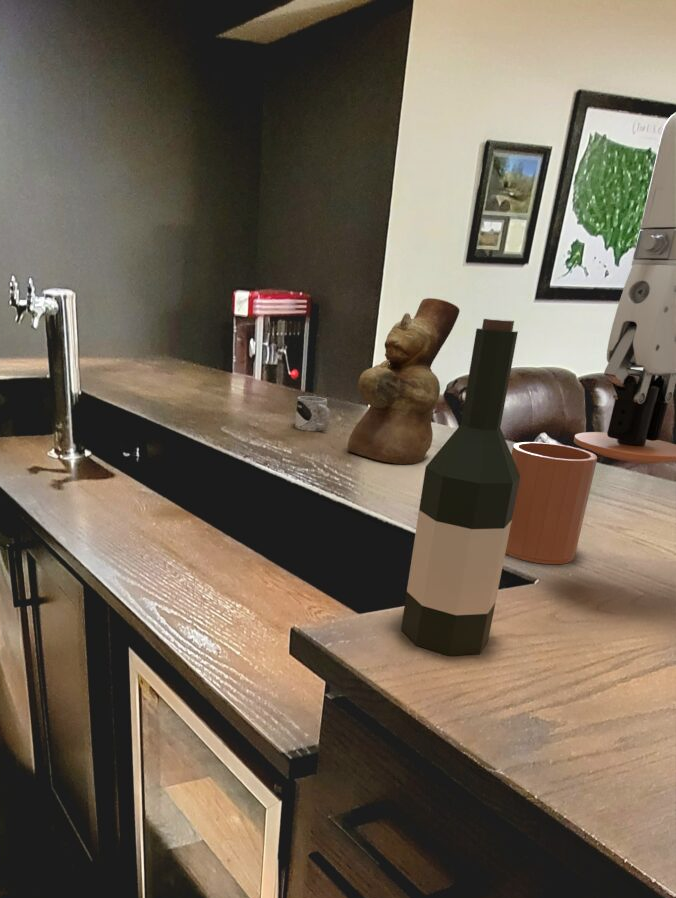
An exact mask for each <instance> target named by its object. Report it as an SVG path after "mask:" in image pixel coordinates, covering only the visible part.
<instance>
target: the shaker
mask: <svg viewBox="0 0 676 898" xmlns="http://www.w3.org/2000/svg"><path fill="white" fill-rule="evenodd" d="M511 449H512V450H511V455H512V457H513V460H514V462H515V464H516V467H517V469H518V471H519V474H520V481H519V486H518V491H517V496H516V501H515V506H514V511H513V516H512V521H511V526H510V532H509V537H508V542H507V547H506V552H505V555H507V556H510V557H512V558H515V559H518V560H522V561H525V562H531V563H536V564H542V565H564V564H569V563H571V562H572V561H573V560H574V559H575V556H576V553H577V548H578V545H579V540H580V536H581V532H582V527H583V522H584V519H585V513H586V509H587V506H588V501H589V497H590V491H591V488H592V483H593V479H594V474H595V470H596V466H597V461H598V457H597V454H596V453H594V452H592V451H590V450H589V451H588V450H587V449H582V448H580V447H574V446H570V445H565V444H564V445H563V444H557V443H551V442H541V441H539V442H538V441H524V442H517V443H514V444H513V445H512V448H511Z"/></svg>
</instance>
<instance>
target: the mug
mask: <svg viewBox="0 0 676 898" xmlns="http://www.w3.org/2000/svg"><path fill="white" fill-rule="evenodd" d="M295 411H296V413H295V423H294V427H295V429H297V430H301V431H308V432H321V431H324V430H327V429H328V428H329V425H330V421H331V410H330V408H329V407H328V399H327V398H326V397H320V396H315V395H314V396H313V395H301V396H298V397H297V400H296V410H295Z"/></svg>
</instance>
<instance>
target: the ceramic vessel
mask: <svg viewBox="0 0 676 898" xmlns="http://www.w3.org/2000/svg"><path fill="white" fill-rule="evenodd" d="M460 311H461V309H460V308H459V307H458V305H456V304H454V303H452V302H449V301H447V300H444V299H440V298H435V297H434V298H431V297H427V298H423V299H422V300H421V302H420V304H419V306H418V308H417V311H416V313H415V315H414V317H413V318H411V314H410V312H405V313H404V314H403V316H402V318H401V320H400V321H398V322H396V323H395V324H394V325H393V326H392V328H391V329H390V330H389V332H388V333H387V336H386V339H385V342H384V349H385V354H384V356H385V358H386V359H385V360H383V361H382V362H381V363H380V364H377V365H375V366H373V367H370V368H368V369H365V370H364V371H363V372H362V373H361V374H360V376H359V378H358V384H357V392H358V395H359V396H360V398H361V399H362V401H363V402H364V403H365V404H366V405H369V408H368V409H366V412H365V413H364V414H363V415H362V417H361V419H359V421H358V422H357V423H356V424H355V426H354V427H353V429H352V432H351V433H350V435H349V438H348V441H347V450H348V451H349V452H350V453H354V454H356V455H359V456H362V457H366V458H369V459H372V460H375V461H379V462H383V463H391V464H394V465H395V464H397V465H413V464H418V463H420V462H421V461H422V460H423V459H424V458H425V456H426V454H427V453H428V452H429V450H430V449H431V446H432V443H433V438H434V437H433V435H434V433H433V426H432V420H433V415H434V411H435V408H436V405H437V403H438V400H439V398H440V396H441V395H440V394H441V384H440V381H439V378H438V377H437V375H436V373H434V372H433V370H432V369H431V367H432V365H433V363H434V361H435V360H436V358H437V356H438V354H439V353H440V351H441V349H442V347H443V346H444V345H445V343H446V341H447V339H448V338H449V336H450V334H451V332H452V331H453V328H454V327H455V324H456V322H457V319H458V318H459V315H460Z"/></svg>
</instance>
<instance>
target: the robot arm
mask: <svg viewBox="0 0 676 898" xmlns="http://www.w3.org/2000/svg"><path fill="white" fill-rule="evenodd" d="M630 265H631V268H630V271H629V273H628V275H627V278H626V281H625V284H624V286H623V290H622V293H621V296H620V299H619V302H618V305H617V307H616V311H615V314H614V320H613V322H612V326H611V329H610V334H609V339H608V344H607V348H606V349H607V350H606V361H607V365H606V367H605V369H604V376H605V377H606V378H607V380H609V381H610V382H611V383H612V386H613V392H612V398H613V399H614V403H613V407H612V412H611V416H610V420H609V424H608V430H607V431H606V433H607V435H608V437H610V438H615V439H619V440H623V441H627V442H631V443H635V442H638V441H639V439H640V435H641V431H642V427H643V423H644V419H645V415H646V411H647V407H648V404H645V403H643V402H644V400H645V398H646V394H647V391H648V388H649V385H650V386H656V387H659V392H658V396H657V400H656V404H655V408H654V412H653V415H652V419H651V423H650V427H649V431H648V435H647V439H646V440H651V441H655V440H660V436H661V432H662V427H663V424H664V419H665V416H666V412H667V410H668V409H667V408H668V404H669V403H671V401H672V399H673V396H674V393H675V389H676V111H675V112H674V113H673V114H671V115H670V117H668V119H667V120H666V122H665V123H664V125H663V128H662V132H661V135H660V138H659V143H658V148H657V152H656V156H655V161H654V165H653V168H652V174H651V179H650V183H649V187H648V192H647V196H646V201H645V205H644V210H643V214H642V218H641V223H640V226H639V231H638V234H637V240H636V243H635V248H634V252H633V257H632V261H631V264H630ZM636 368H637V369H636ZM639 368H642V369H639ZM636 377H638V380H637V379H636Z"/></svg>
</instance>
